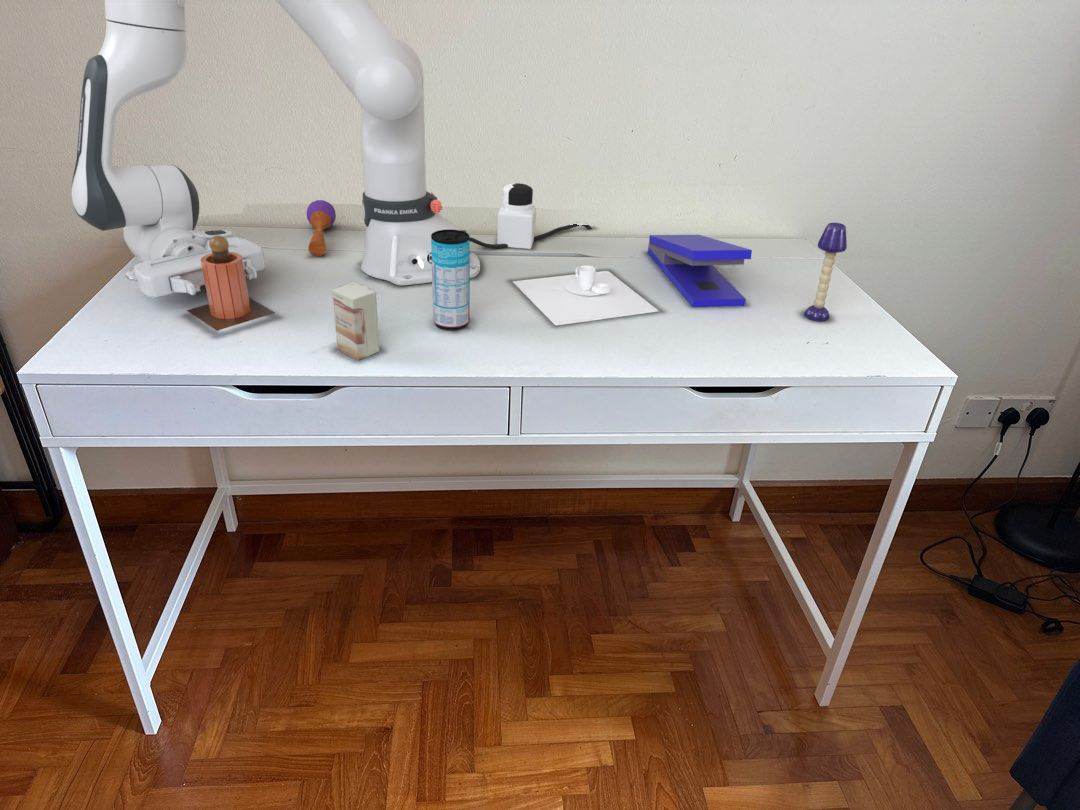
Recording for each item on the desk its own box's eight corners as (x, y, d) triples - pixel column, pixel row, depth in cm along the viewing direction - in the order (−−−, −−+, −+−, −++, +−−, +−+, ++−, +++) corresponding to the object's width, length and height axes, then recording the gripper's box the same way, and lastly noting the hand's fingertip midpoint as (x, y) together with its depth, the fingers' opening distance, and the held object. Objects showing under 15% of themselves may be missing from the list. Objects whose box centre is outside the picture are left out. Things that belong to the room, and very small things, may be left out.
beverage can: (473, 318, 127) (474, 231, 119) (463, 333, 122) (463, 243, 114) (439, 314, 127) (438, 227, 120) (428, 328, 122) (425, 239, 115)
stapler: (689, 306, 135) (697, 254, 130) (643, 252, 158) (649, 205, 153) (749, 305, 137) (760, 253, 132) (695, 251, 160) (703, 205, 155)
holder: (244, 299, 129) (231, 221, 122) (276, 318, 123) (264, 237, 116) (187, 315, 122) (170, 234, 115) (217, 336, 117) (201, 252, 110)
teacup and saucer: (617, 296, 137) (619, 275, 135) (577, 301, 134) (579, 280, 132) (595, 279, 144) (597, 258, 142) (557, 283, 141) (559, 262, 139)
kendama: (296, 237, 144) (303, 198, 160) (306, 265, 148) (312, 224, 164) (328, 231, 145) (331, 193, 161) (336, 259, 149) (339, 219, 164)
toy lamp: (813, 323, 132) (838, 230, 123) (794, 313, 135) (817, 221, 126) (833, 319, 134) (859, 227, 125) (814, 309, 137) (837, 219, 128)
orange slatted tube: (238, 300, 126) (229, 248, 121) (257, 312, 122) (249, 259, 118) (204, 310, 122) (193, 257, 117) (222, 322, 119) (212, 268, 114)
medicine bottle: (534, 238, 162) (537, 182, 156) (531, 249, 156) (533, 191, 150) (501, 235, 163) (503, 179, 157) (497, 246, 157) (498, 189, 151)
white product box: (336, 350, 115) (329, 288, 109) (359, 341, 118) (354, 280, 112) (358, 361, 112) (352, 298, 107) (381, 352, 115) (377, 290, 110)
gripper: (115, 254, 119) (154, 279, 111) (237, 227, 132) (279, 248, 125) (125, 291, 123) (163, 318, 115) (242, 261, 136) (284, 284, 128)
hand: (225, 281), depth 120 cm, fingers open, 8 cm apart
